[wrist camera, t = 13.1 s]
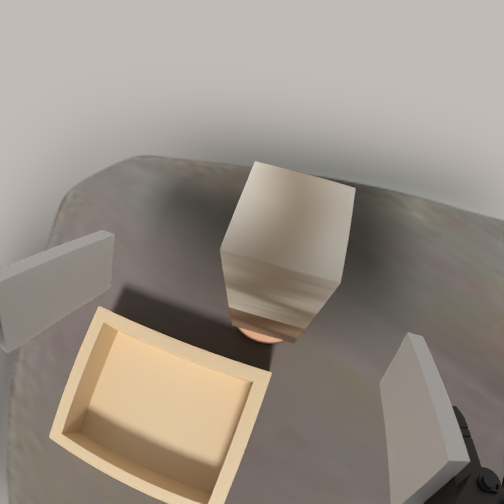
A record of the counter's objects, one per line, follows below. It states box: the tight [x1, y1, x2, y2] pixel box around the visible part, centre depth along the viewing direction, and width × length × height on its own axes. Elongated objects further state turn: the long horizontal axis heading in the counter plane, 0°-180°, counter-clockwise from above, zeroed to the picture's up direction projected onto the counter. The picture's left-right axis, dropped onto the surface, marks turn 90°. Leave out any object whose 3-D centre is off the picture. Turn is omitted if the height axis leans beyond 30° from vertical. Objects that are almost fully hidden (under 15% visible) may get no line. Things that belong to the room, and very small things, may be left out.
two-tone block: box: [220, 161, 356, 343], centre depth 19 cm, size 5×5×13 cm
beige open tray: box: [49, 306, 272, 504], centre depth 20 cm, size 14×12×4 cm
